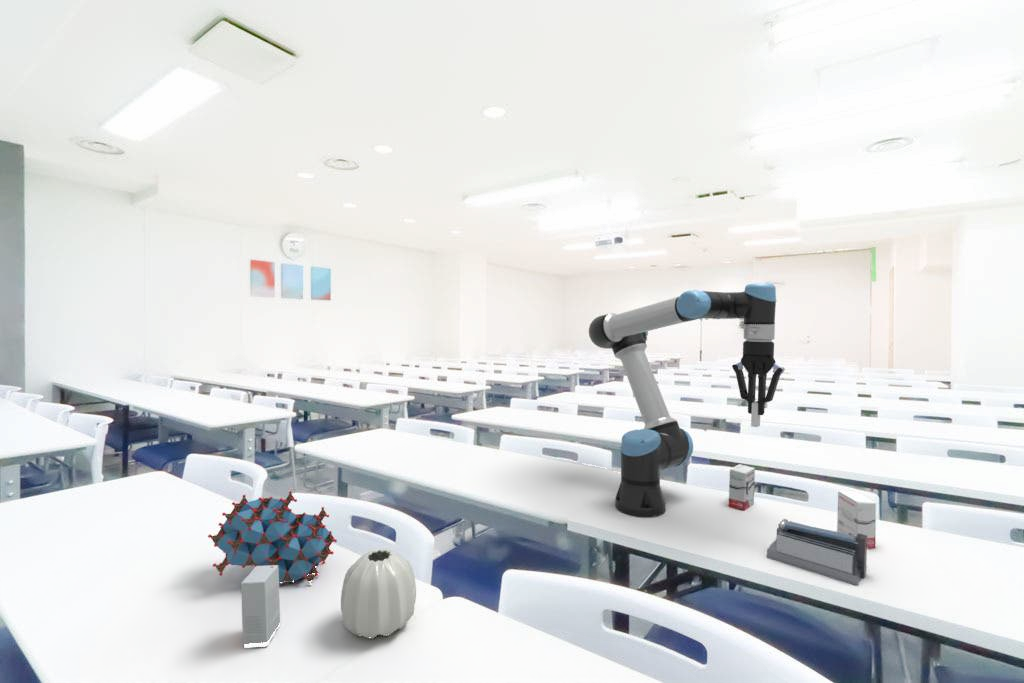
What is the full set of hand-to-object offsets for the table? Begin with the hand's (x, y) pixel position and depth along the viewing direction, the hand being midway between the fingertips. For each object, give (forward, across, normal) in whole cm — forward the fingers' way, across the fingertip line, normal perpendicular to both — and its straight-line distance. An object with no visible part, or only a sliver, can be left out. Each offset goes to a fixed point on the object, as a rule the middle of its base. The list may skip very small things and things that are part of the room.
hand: (755, 425), depth 130 cm
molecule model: (+30, -70, -101) cm, 127 cm away
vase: (+30, -37, -94) cm, 105 cm away
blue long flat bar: (+22, +17, -9) cm, 29 cm away
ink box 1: (+29, -8, +16) cm, 34 cm away
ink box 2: (+29, +22, +11) cm, 38 cm away
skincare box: (+30, -49, -111) cm, 125 cm away
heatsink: (+29, +17, -9) cm, 34 cm away
